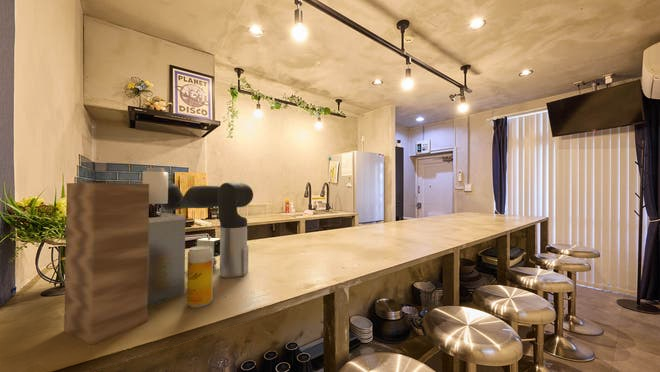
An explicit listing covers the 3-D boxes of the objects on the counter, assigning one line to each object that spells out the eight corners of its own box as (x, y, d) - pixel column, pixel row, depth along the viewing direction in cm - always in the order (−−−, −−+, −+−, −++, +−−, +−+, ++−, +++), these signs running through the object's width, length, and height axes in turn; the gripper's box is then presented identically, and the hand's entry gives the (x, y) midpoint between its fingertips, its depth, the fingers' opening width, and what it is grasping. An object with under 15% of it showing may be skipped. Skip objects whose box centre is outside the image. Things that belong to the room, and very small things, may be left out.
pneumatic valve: (218, 269, 97) (218, 238, 97) (192, 267, 100) (192, 236, 100) (227, 265, 103) (227, 235, 103) (201, 263, 105) (202, 234, 105)
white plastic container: (114, 201, 76) (115, 168, 76) (136, 201, 81) (137, 170, 82) (150, 204, 68) (151, 167, 68) (172, 203, 74) (173, 168, 74)
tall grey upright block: (125, 301, 69) (127, 216, 70) (163, 288, 79) (164, 213, 79) (147, 308, 65) (149, 218, 66) (184, 293, 74) (185, 214, 75)
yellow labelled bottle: (185, 302, 69) (186, 247, 69) (209, 296, 72) (210, 244, 73) (189, 311, 64) (189, 251, 64) (214, 304, 68) (215, 248, 68)
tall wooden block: (64, 330, 55) (66, 183, 55) (118, 310, 64) (120, 184, 64) (92, 345, 50) (95, 182, 50) (147, 321, 59) (149, 183, 59)
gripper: (139, 225, 87) (166, 202, 81) (86, 231, 75) (114, 204, 68) (133, 206, 89) (160, 182, 83) (80, 209, 76) (107, 180, 70)
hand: (139, 192), depth 76 cm, fingers closed on white plastic container, 3 cm apart
